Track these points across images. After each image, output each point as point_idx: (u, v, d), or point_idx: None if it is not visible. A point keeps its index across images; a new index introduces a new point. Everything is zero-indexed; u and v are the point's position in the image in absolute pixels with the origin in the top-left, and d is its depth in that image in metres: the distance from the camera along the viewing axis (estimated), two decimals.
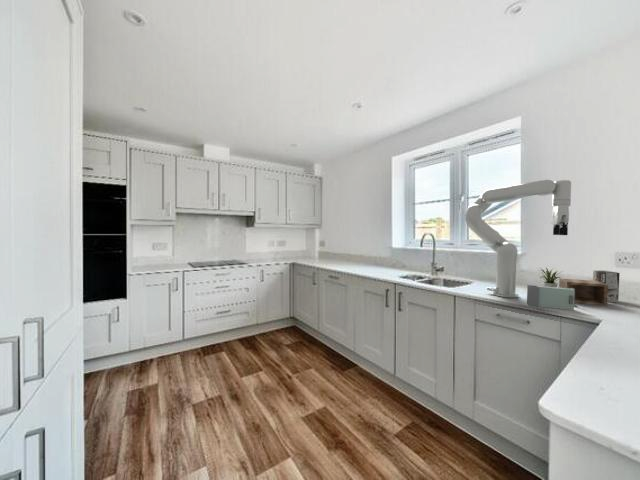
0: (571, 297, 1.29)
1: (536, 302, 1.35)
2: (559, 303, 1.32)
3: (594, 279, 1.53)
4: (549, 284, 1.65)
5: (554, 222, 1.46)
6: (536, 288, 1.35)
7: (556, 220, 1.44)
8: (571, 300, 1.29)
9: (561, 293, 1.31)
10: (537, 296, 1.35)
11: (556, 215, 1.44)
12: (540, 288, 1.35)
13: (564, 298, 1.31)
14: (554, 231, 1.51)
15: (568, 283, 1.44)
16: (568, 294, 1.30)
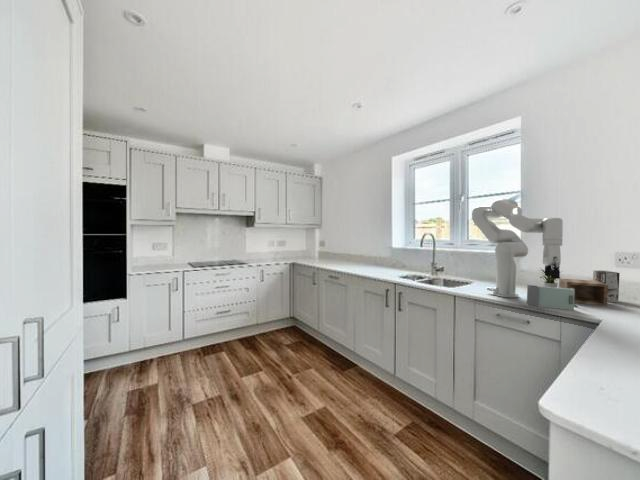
0: (571, 297, 1.29)
1: (536, 302, 1.35)
2: (559, 303, 1.32)
3: (594, 279, 1.53)
4: (549, 284, 1.65)
5: (545, 263, 1.34)
6: (536, 288, 1.35)
7: (547, 261, 1.31)
8: (571, 300, 1.29)
9: (561, 293, 1.31)
10: (537, 296, 1.35)
11: (547, 256, 1.32)
12: (540, 288, 1.35)
13: (564, 298, 1.31)
14: (546, 271, 1.38)
15: (568, 283, 1.44)
16: (568, 294, 1.30)
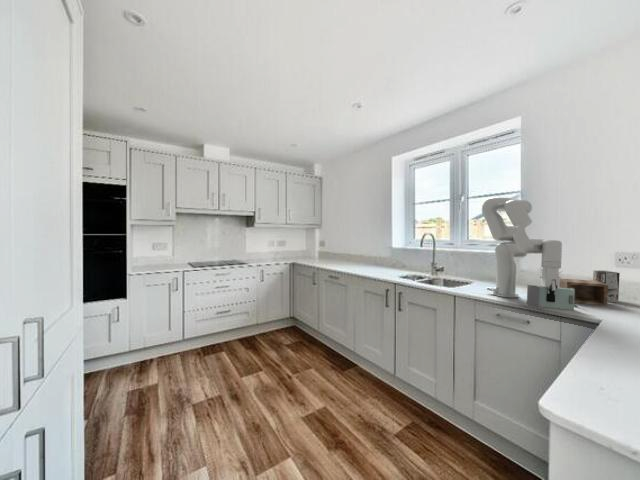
0: (571, 297, 1.29)
1: (536, 302, 1.35)
2: (559, 303, 1.32)
3: (594, 279, 1.53)
4: None
5: (543, 284, 1.35)
6: (536, 288, 1.35)
7: (545, 283, 1.32)
8: (571, 300, 1.29)
9: (561, 293, 1.31)
10: (537, 296, 1.35)
11: (545, 278, 1.32)
12: (540, 288, 1.35)
13: (564, 298, 1.31)
14: None
15: (568, 283, 1.44)
16: (568, 294, 1.30)
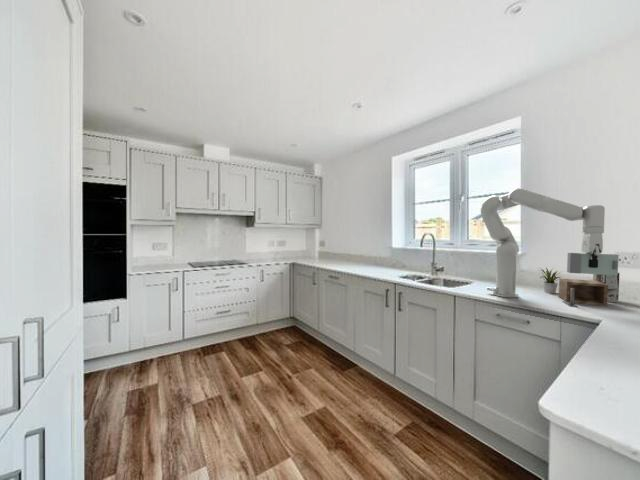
0: (615, 262, 1.28)
1: (578, 269, 1.34)
2: (602, 269, 1.31)
3: (594, 279, 1.53)
4: (549, 284, 1.65)
5: (585, 251, 1.34)
6: (578, 255, 1.34)
7: (588, 249, 1.31)
8: (615, 265, 1.28)
9: (604, 259, 1.31)
10: (579, 263, 1.34)
11: (588, 243, 1.31)
12: (582, 255, 1.34)
13: (607, 264, 1.30)
14: None
15: (568, 283, 1.44)
16: (611, 259, 1.29)
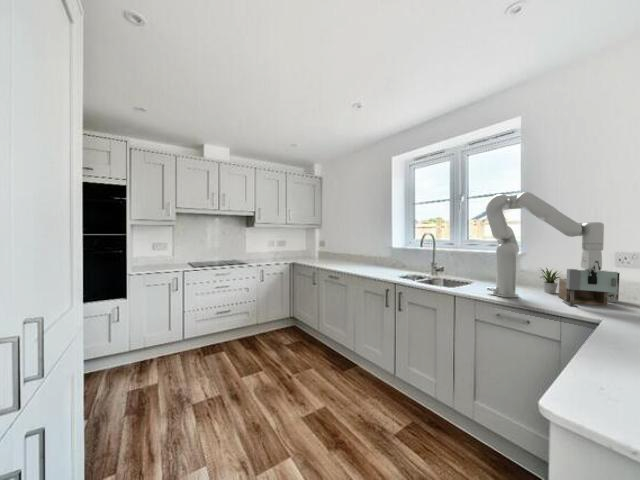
0: (614, 280, 1.29)
1: (577, 285, 1.35)
2: (601, 286, 1.31)
3: None
4: (549, 284, 1.65)
5: (585, 267, 1.34)
6: (577, 271, 1.35)
7: (587, 266, 1.32)
8: (614, 283, 1.29)
9: (604, 276, 1.31)
10: (578, 279, 1.34)
11: (587, 260, 1.32)
12: (581, 271, 1.35)
13: (606, 281, 1.31)
14: None
15: None
16: (611, 277, 1.30)
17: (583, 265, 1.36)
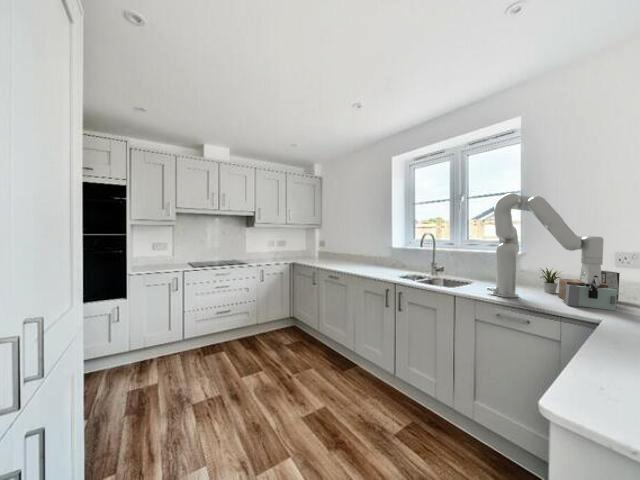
0: (613, 297, 1.29)
1: (576, 301, 1.35)
2: (600, 303, 1.32)
3: None
4: (549, 284, 1.65)
5: (584, 281, 1.34)
6: (576, 287, 1.35)
7: (586, 280, 1.32)
8: (613, 300, 1.29)
9: (603, 293, 1.31)
10: (577, 295, 1.35)
11: (586, 274, 1.32)
12: (580, 288, 1.35)
13: (605, 298, 1.31)
14: None
15: (568, 283, 1.44)
16: (610, 294, 1.30)
17: (582, 279, 1.36)
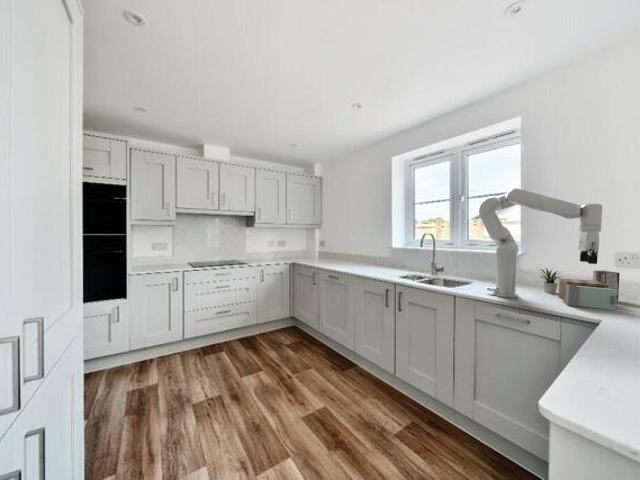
0: (613, 297, 1.29)
1: (576, 301, 1.35)
2: (600, 303, 1.32)
3: (594, 279, 1.53)
4: (549, 284, 1.65)
5: (582, 248, 1.35)
6: (576, 287, 1.35)
7: (584, 247, 1.33)
8: (613, 300, 1.29)
9: (603, 293, 1.31)
10: (577, 295, 1.35)
11: (584, 241, 1.33)
12: (580, 288, 1.35)
13: (605, 298, 1.31)
14: (581, 257, 1.39)
15: (568, 283, 1.44)
16: (610, 294, 1.30)
17: (580, 247, 1.37)
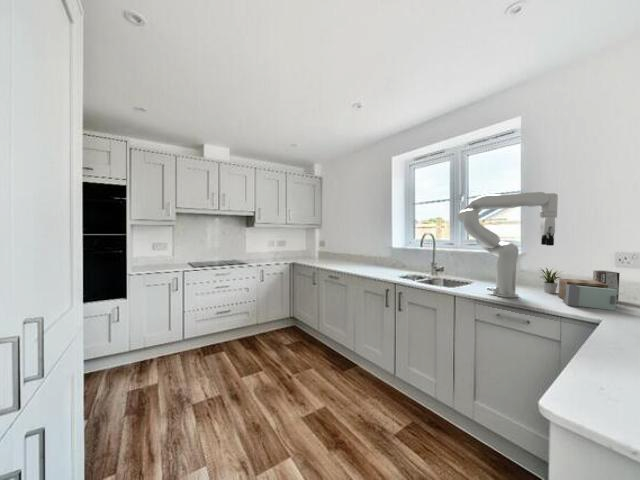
0: (613, 297, 1.29)
1: (576, 301, 1.35)
2: (600, 303, 1.32)
3: (594, 279, 1.53)
4: (549, 284, 1.65)
5: (542, 233, 1.54)
6: (576, 287, 1.35)
7: (543, 231, 1.52)
8: (613, 300, 1.29)
9: (603, 293, 1.31)
10: (577, 295, 1.35)
11: (543, 226, 1.52)
12: (580, 288, 1.35)
13: (605, 298, 1.31)
14: (542, 241, 1.58)
15: (568, 283, 1.44)
16: (610, 294, 1.30)
17: (541, 231, 1.56)
